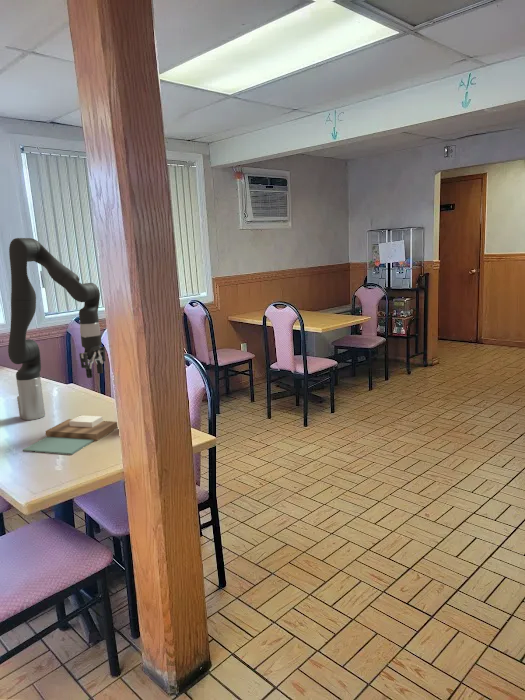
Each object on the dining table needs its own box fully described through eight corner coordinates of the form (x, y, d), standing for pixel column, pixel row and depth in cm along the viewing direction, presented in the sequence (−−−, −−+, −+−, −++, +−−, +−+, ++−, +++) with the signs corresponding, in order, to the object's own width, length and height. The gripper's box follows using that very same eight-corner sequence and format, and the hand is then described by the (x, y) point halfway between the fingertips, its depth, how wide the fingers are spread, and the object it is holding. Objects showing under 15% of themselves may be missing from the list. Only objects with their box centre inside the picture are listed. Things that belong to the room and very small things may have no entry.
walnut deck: (46, 437, 195) (45, 431, 195) (69, 424, 208) (68, 419, 208) (96, 440, 189) (96, 434, 189) (117, 427, 202) (116, 421, 202)
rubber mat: (23, 451, 182) (22, 449, 182) (47, 437, 194) (47, 436, 194) (71, 454, 177) (71, 453, 176) (93, 441, 189) (93, 439, 189)
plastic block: (69, 426, 199) (69, 421, 199) (80, 420, 206) (80, 415, 205) (92, 427, 196) (91, 422, 196) (102, 421, 203) (102, 416, 203)
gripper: (93, 331, 211) (97, 371, 214) (71, 337, 197) (76, 379, 201) (109, 331, 209) (113, 371, 212) (88, 337, 195) (92, 380, 198)
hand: (95, 375), depth 206 cm, fingers open, 6 cm apart
